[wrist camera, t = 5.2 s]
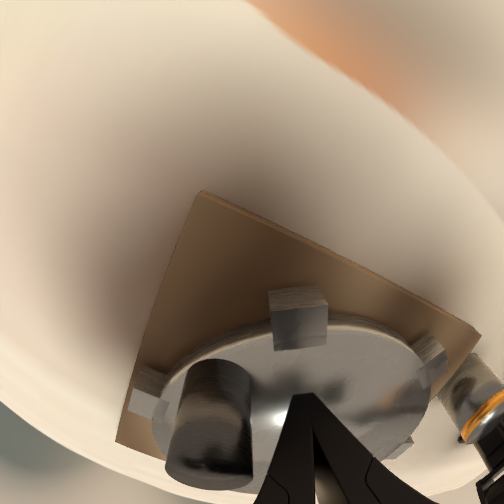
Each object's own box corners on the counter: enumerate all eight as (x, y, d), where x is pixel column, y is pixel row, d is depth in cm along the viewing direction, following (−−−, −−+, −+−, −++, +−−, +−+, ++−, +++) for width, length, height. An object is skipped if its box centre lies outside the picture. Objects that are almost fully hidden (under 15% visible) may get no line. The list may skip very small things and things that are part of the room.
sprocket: (380, 213, 9) (489, 272, 4) (448, 404, 13) (483, 459, 8) (89, 394, 12) (51, 470, 7) (250, 495, 16) (252, 550, 11)
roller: (485, 357, 14) (521, 397, 9) (452, 399, 15) (480, 442, 10) (462, 347, 13) (504, 395, 9) (424, 394, 14) (455, 446, 10)
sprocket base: (473, 327, 13) (482, 336, 12) (324, 478, 17) (326, 488, 16) (202, 190, 10) (196, 193, 9) (118, 431, 15) (114, 442, 14)
